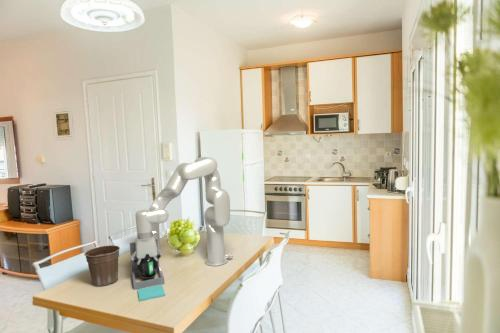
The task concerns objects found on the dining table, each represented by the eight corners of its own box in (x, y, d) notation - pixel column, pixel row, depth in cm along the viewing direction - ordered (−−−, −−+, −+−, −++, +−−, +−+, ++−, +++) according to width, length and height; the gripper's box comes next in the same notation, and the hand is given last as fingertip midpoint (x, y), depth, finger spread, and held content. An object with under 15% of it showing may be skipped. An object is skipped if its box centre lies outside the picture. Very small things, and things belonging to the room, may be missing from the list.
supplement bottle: (155, 277, 165) (153, 253, 164) (140, 279, 164) (138, 255, 163) (156, 272, 172) (154, 249, 171) (142, 274, 170) (140, 251, 169)
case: (159, 269, 180) (157, 239, 179) (164, 283, 162) (162, 249, 161) (131, 274, 175) (129, 242, 174) (134, 289, 157) (131, 254, 155)
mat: (162, 286, 159) (161, 284, 159) (165, 295, 149) (165, 294, 149) (137, 291, 155) (137, 289, 155) (139, 301, 145) (139, 299, 145)
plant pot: (82, 290, 158) (79, 257, 157) (91, 277, 174) (89, 247, 173) (118, 286, 161) (116, 253, 160) (124, 273, 177) (122, 243, 176)
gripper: (161, 230, 173) (164, 263, 174) (126, 236, 166) (129, 270, 168) (164, 234, 166) (166, 268, 167) (126, 239, 159) (130, 276, 161)
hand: (148, 269), depth 168 cm, fingers closed on supplement bottle, 6 cm apart
